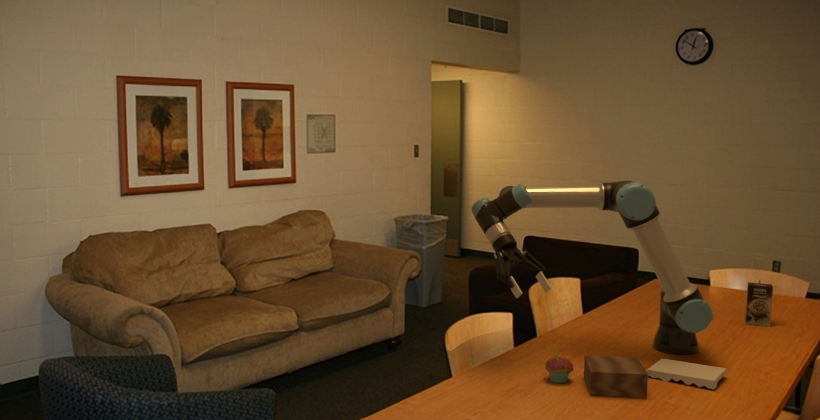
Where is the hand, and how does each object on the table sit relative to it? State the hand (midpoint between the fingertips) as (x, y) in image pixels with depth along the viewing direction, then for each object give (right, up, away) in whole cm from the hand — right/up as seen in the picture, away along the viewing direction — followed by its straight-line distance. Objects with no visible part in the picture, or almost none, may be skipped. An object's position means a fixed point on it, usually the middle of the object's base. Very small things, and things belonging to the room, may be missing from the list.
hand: (534, 293), depth 237 cm
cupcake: (+7, -26, -6) cm, 28 cm away
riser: (+22, -27, -11) cm, 37 cm away
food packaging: (+47, -27, -2) cm, 54 cm away
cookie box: (+100, -20, +64) cm, 120 cm away
